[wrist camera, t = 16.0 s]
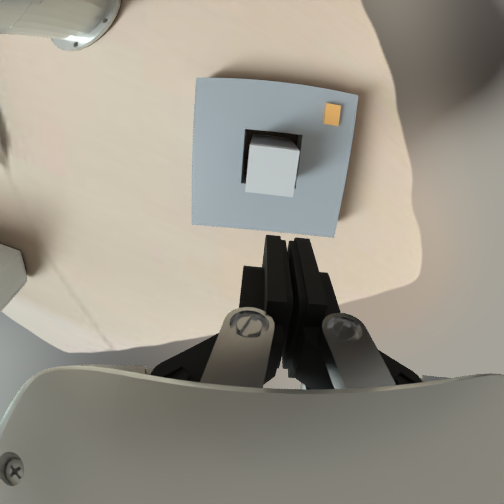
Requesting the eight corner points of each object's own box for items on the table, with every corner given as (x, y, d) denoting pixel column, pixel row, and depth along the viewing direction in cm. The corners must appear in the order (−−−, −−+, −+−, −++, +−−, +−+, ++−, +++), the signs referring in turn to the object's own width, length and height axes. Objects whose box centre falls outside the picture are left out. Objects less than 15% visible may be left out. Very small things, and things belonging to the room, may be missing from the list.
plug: (253, 133, 34) (249, 144, 25) (290, 138, 34) (299, 151, 25) (249, 168, 36) (245, 191, 27) (285, 172, 36) (292, 197, 27)
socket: (203, 80, 30) (194, 77, 26) (348, 95, 30) (360, 95, 26) (198, 212, 39) (190, 227, 35) (327, 224, 39) (335, 240, 35)
